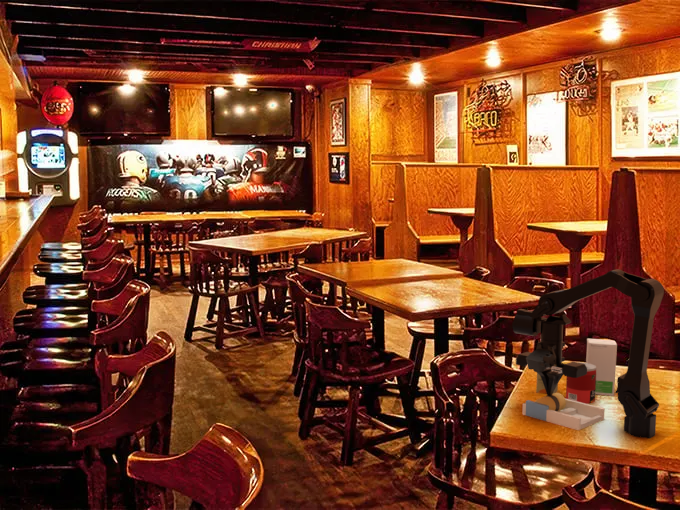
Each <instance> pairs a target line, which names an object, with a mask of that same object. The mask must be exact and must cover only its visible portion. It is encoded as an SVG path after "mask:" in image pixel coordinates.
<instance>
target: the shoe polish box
mask: <svg viewBox="0 0 680 510" xmlns="http://www.w3.org/2000/svg"><path fill="white" fill-rule="evenodd" d="M555 366H556V365H555ZM558 389H559V383H558V384H557V386H556V388H555V390H554V392H553V393H558V392H559V390H558ZM538 393H540V394H546V395H547V393H546V390H545V387H544V384H543V381H542V379H541V376H540V375H539V374H538V373H537V372H536V394H538Z"/></svg>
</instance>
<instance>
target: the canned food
mask: <svg viewBox="0 0 680 510" xmlns="http://www.w3.org/2000/svg"><path fill="white" fill-rule="evenodd" d="M578 363H583V364H585V365H586V367H587V374H586V375H583V376H581V377H578V378H572V377H568V376H566V385H565V387H566V388H565V398H566V399H570V400H573V401H577V402H581V403H585V404H589V405H591V404H594V403H595V402H596V394H595V391H596V366H595V365H592V364H589V363H586V362H581V361H580V362H579V361H578Z"/></svg>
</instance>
